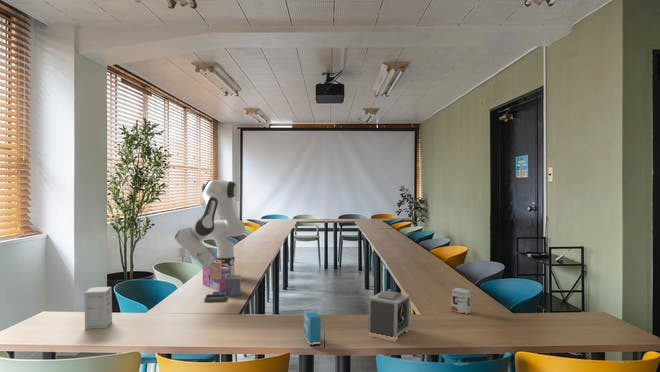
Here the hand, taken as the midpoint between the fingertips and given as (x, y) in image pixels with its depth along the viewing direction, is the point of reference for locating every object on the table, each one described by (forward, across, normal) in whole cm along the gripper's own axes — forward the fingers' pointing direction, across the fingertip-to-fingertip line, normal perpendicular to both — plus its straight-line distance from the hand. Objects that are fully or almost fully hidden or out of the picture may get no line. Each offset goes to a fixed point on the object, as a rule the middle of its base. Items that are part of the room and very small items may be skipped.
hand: (216, 269), depth 257 cm
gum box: (+10, +30, +14) cm, 35 cm away
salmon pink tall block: (+3, 0, +4) cm, 5 cm away
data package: (+45, -69, -21) cm, 85 cm away
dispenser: (+15, +11, +9) cm, 21 cm away
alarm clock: (+70, -63, -46) cm, 105 cm away
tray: (+12, 0, +12) cm, 17 cm away
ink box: (+102, -37, -78) cm, 134 cm away
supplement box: (-23, -39, +47) cm, 65 cm away
